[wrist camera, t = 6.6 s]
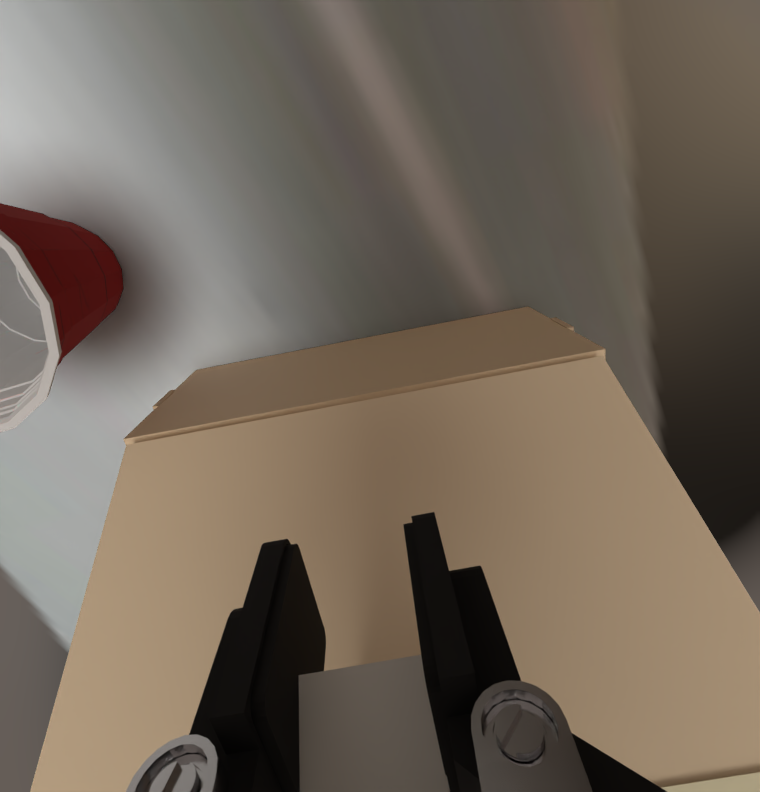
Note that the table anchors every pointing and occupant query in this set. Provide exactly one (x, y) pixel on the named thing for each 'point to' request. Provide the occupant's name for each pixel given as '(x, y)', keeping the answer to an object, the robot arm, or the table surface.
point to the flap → (392, 590)
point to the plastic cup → (46, 302)
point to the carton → (364, 371)
